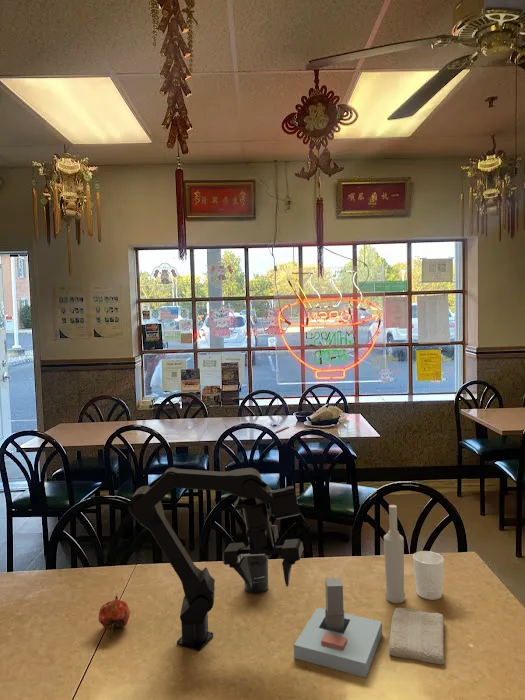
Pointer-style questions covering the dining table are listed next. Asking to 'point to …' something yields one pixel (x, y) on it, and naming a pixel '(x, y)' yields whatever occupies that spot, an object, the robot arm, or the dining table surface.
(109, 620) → the pomegranate
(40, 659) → the dining table surface
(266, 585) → the supplement bottle
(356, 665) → the socket plate
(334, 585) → the plug
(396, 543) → the bottle
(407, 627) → the washcloth
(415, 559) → the white cup
